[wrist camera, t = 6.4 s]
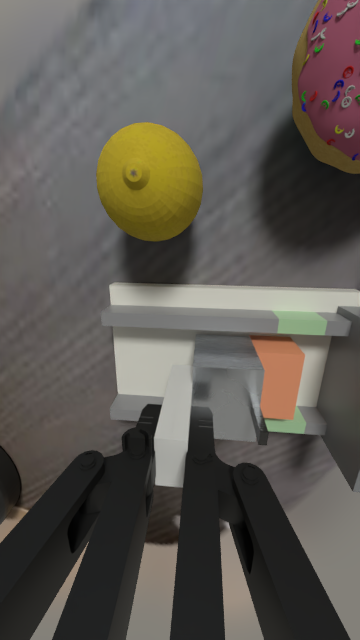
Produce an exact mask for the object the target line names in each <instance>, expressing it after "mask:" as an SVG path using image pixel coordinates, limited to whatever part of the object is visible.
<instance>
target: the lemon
mask: <svg viewBox="0 0 360 640" xmlns="http://www.w3.org/2000/svg"><path fill="white" fill-rule="evenodd" d="M96 177H97V189H98V193H99V196H100V200H101V203H102V205H103V206H104V208H105V210H106V212H107V214H108V216H109V217H110V218H111V219H112V220H113V221H114V222H115V224H116V225H117V226H118V227H119V228H120V229H122V230H123V231H125V232H126V233H128V234H129V235H131V236H133V237H136V238H138V239H141V240H145V241H162V240H168V239H170V238H172V237H174V236H177V235H179V234H180V233H181V232H182V231H184V230H185V229H186V228H187V227H188V226H189V225H190V224H191V222H192V221H193V219H194V218H195V217H196V214H197V212H198V210H199V207H200V205H201V199H202V193H203V183H202V174H201V170H200V167H199V164H198V160H197V158H196V157H195V155H194V153H193V152H192V150H191V148H190V147H189V145H188V144H187V143H186V142H185V141H184V140H183V139H182V138H181V137H180V136H179V135H178V134H177V133H175V132H173V131H171V130H170V129H168V128H166V127H164V126H162V125H158V124H153V123H148V122H145V123H134V124H132V125H129V126H127V127H124V128H122V129H120V130H119V131H118V132H117V133H115V134H114V135H113V136H112V137H111V138H110V139H109V141H108V142H107V143H106V145H105V146H104V148H103V150H102V152H101V155H100V157H99V160H98V166H97V173H96Z"/></svg>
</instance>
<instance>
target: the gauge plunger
mask: <svg viewBox="0 0 360 640" xmlns="http://www.w3.org/2000/svg"><path fill="white" fill-rule="evenodd" d="M264 373H265V370H264V368H263V365H262V363H261V361H260V359H259V356H258V354H257V352H256V350H255V347H254V345H253V343H252V340H251V338H250V337H247V336H224V335H202V334H196V340H195V350H194V361H193V383H192V406H198V407H209V408H210V410H211V412H212V413H213V429H214V439H226V440H238V441H251V442H255V440H256V437H257V441H258V445H267V439H268V429H267V426H266V423H265V420H264V417H263V414H262V411H261V408H260V403H261V395H262V388H263V380H264Z"/></svg>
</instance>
